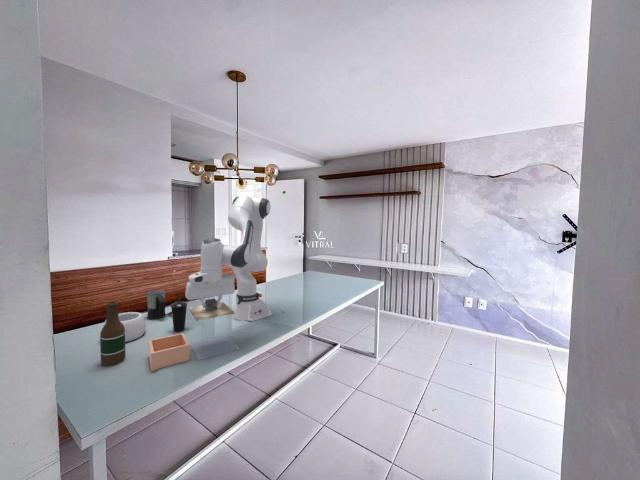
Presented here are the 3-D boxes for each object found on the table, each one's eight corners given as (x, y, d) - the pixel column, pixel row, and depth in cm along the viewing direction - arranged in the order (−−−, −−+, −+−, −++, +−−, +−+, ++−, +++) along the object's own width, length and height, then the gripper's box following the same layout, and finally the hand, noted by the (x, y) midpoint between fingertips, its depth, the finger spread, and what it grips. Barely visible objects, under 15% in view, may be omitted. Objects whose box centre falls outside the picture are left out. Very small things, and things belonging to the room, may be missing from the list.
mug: (110, 331, 127) (110, 312, 127) (149, 328, 133) (149, 309, 133) (90, 353, 107) (89, 330, 107) (137, 347, 113) (136, 325, 113)
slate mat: (227, 335, 128) (227, 334, 128) (239, 349, 114) (239, 348, 114) (190, 344, 118) (190, 343, 118) (198, 361, 104) (198, 360, 104)
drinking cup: (180, 334, 128) (180, 294, 126) (167, 332, 129) (166, 293, 128) (190, 327, 135) (190, 290, 134) (178, 326, 137) (178, 289, 135)
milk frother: (142, 318, 146) (142, 292, 145) (167, 309, 160) (167, 286, 159) (160, 322, 141) (160, 296, 140) (185, 313, 155) (184, 289, 154)
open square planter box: (183, 348, 114) (183, 332, 114) (189, 361, 104) (189, 344, 103) (148, 356, 106) (148, 340, 106) (151, 371, 96) (151, 353, 95)
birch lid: (223, 304, 124) (223, 294, 124) (233, 313, 112) (233, 302, 112) (189, 309, 115) (189, 298, 115) (196, 320, 103) (196, 308, 103)
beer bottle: (127, 361, 102) (126, 302, 101) (102, 369, 97) (101, 307, 95) (123, 354, 107) (122, 298, 106) (99, 361, 102) (97, 302, 100)
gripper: (232, 272, 121) (232, 300, 122) (184, 276, 109) (184, 308, 110) (237, 274, 116) (236, 304, 117) (187, 279, 104) (187, 312, 105)
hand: (211, 306), depth 113 cm, fingers closed on birch lid, 4 cm apart
